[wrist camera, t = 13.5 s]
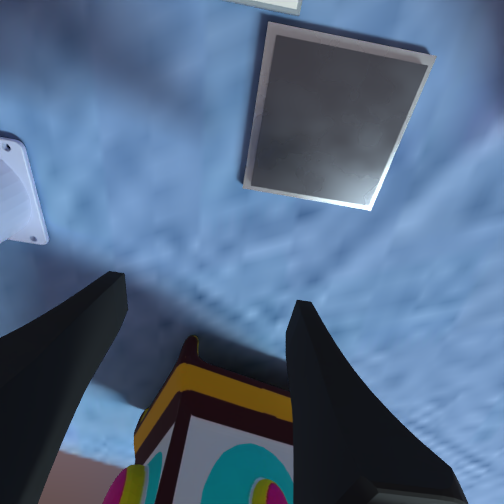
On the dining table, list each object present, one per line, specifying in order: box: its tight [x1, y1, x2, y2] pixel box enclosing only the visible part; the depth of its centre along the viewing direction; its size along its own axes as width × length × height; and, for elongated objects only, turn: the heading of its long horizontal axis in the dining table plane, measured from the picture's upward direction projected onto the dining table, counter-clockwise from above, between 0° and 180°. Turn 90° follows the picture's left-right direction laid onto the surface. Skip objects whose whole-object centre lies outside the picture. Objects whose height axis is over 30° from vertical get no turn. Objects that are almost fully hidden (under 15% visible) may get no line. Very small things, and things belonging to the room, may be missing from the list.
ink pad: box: [243, 21, 437, 210], centre depth 17 cm, size 9×9×1 cm
